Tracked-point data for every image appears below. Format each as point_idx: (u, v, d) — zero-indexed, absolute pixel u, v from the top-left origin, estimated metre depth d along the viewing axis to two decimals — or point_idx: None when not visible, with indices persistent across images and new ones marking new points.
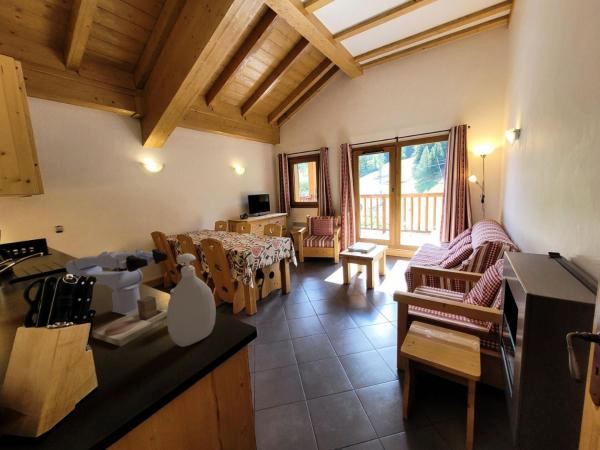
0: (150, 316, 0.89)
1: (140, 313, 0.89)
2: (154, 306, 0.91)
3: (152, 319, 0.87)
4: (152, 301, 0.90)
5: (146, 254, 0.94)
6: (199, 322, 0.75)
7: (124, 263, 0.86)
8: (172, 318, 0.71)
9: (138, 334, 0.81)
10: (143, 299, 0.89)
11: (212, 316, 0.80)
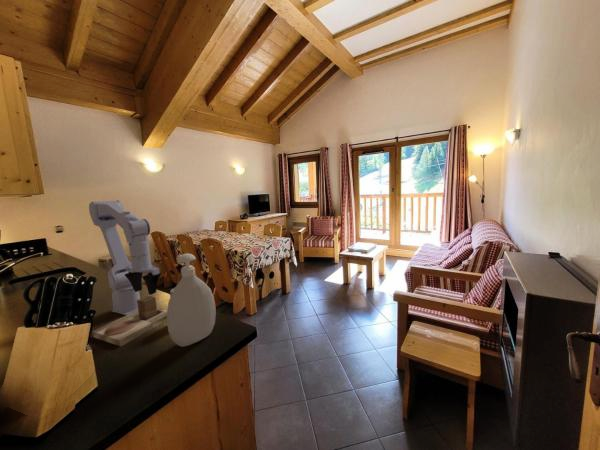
0: (150, 316, 0.89)
1: (140, 313, 0.89)
2: (154, 306, 0.91)
3: (152, 319, 0.87)
4: (152, 301, 0.90)
5: None
6: (199, 322, 0.75)
7: None
8: (172, 318, 0.71)
9: (138, 334, 0.81)
10: (143, 299, 0.89)
11: (212, 316, 0.80)
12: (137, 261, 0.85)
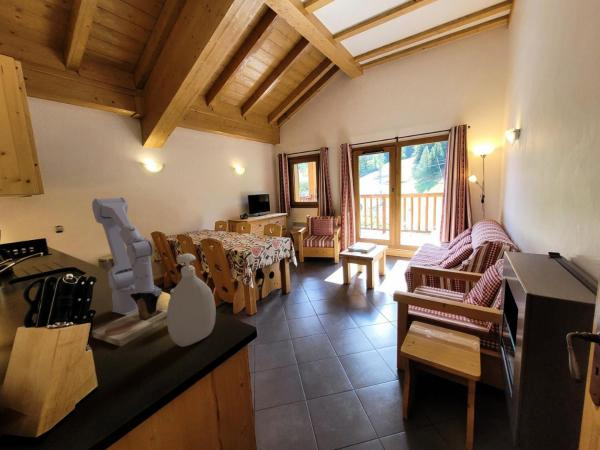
0: (150, 316, 0.89)
1: (140, 313, 0.89)
2: None
3: (152, 319, 0.87)
4: None
5: None
6: (199, 322, 0.75)
7: None
8: (172, 318, 0.71)
9: (138, 334, 0.81)
10: None
11: (212, 316, 0.80)
12: (140, 282, 0.86)
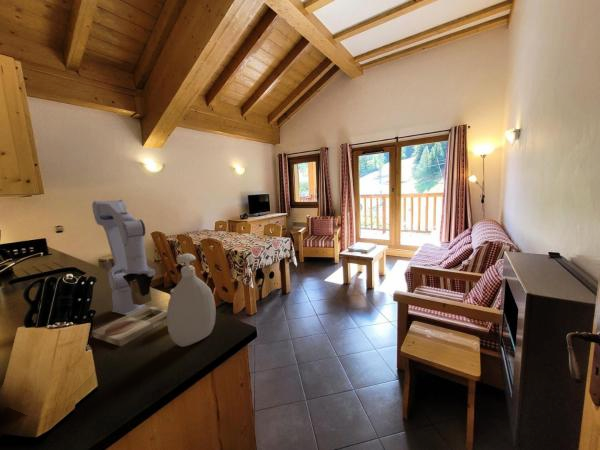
0: (143, 298, 0.87)
1: (133, 295, 0.87)
2: None
3: (152, 319, 0.87)
4: None
5: None
6: (199, 322, 0.75)
7: None
8: (172, 318, 0.71)
9: (138, 334, 0.81)
10: None
11: (212, 316, 0.80)
12: (133, 263, 0.84)
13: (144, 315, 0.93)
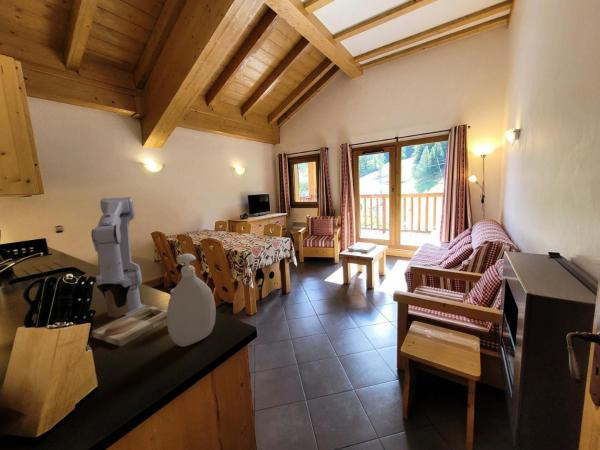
0: (119, 310, 0.80)
1: (108, 306, 0.80)
2: None
3: (152, 319, 0.87)
4: None
5: None
6: (199, 322, 0.75)
7: None
8: (172, 318, 0.71)
9: (138, 334, 0.81)
10: None
11: (212, 316, 0.80)
12: (106, 272, 0.77)
13: (144, 315, 0.93)
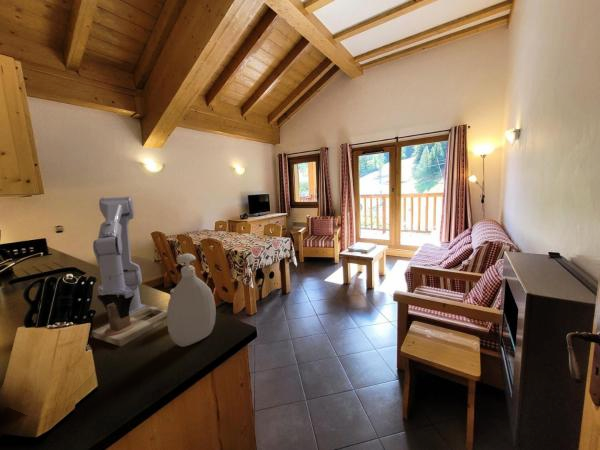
0: (121, 323, 0.81)
1: (110, 319, 0.80)
2: None
3: (152, 319, 0.87)
4: None
5: None
6: (199, 322, 0.75)
7: None
8: (172, 318, 0.71)
9: (138, 334, 0.81)
10: (114, 304, 0.80)
11: (212, 316, 0.80)
12: (108, 283, 0.77)
13: (144, 315, 0.93)
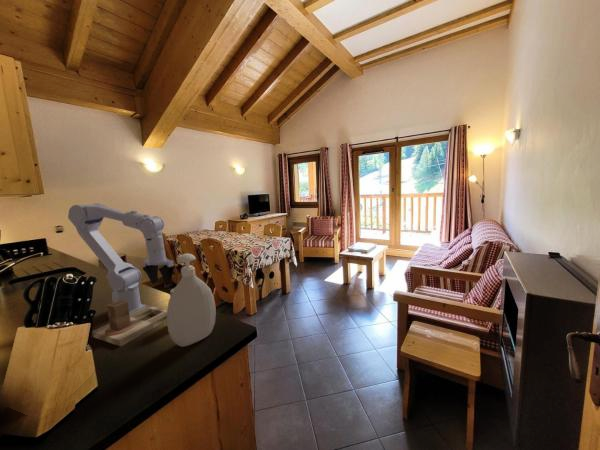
0: (121, 323, 0.81)
1: (110, 319, 0.80)
2: (126, 312, 0.82)
3: (152, 319, 0.87)
4: (124, 306, 0.81)
5: None
6: (199, 322, 0.75)
7: None
8: (172, 318, 0.71)
9: (138, 334, 0.81)
10: (113, 304, 0.80)
11: (212, 316, 0.80)
12: (153, 255, 0.93)
13: (144, 315, 0.93)
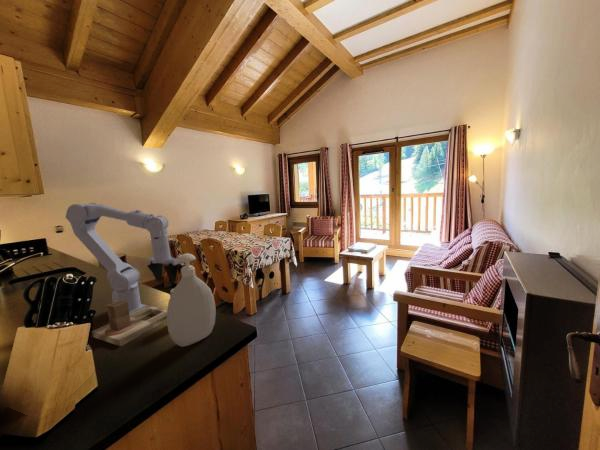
0: (121, 323, 0.81)
1: (110, 319, 0.80)
2: (126, 312, 0.82)
3: (152, 319, 0.87)
4: (124, 306, 0.81)
5: None
6: (199, 322, 0.75)
7: None
8: (172, 318, 0.71)
9: (138, 334, 0.81)
10: (113, 304, 0.80)
11: (212, 316, 0.80)
12: (159, 253, 0.95)
13: (144, 315, 0.93)
